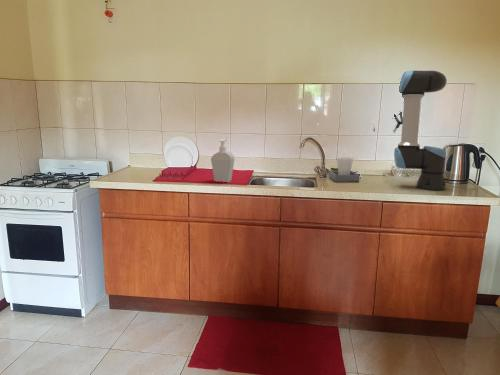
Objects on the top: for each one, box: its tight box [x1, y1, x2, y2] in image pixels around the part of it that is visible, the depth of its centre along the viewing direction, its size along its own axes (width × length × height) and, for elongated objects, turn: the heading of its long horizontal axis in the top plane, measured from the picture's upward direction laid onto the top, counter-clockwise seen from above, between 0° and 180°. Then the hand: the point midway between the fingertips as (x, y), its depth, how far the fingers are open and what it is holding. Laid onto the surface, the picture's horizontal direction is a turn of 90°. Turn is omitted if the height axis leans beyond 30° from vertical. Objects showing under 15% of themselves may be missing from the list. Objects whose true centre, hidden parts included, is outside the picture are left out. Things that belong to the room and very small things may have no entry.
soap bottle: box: [210, 138, 235, 183], centre depth 228 cm, size 12×10×26 cm
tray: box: [328, 170, 360, 183], centre depth 237 cm, size 15×15×4 cm
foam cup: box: [336, 156, 354, 175], centre depth 236 cm, size 10×9×13 cm
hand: (383, 130), depth 245 cm, fingers open, 13 cm apart
